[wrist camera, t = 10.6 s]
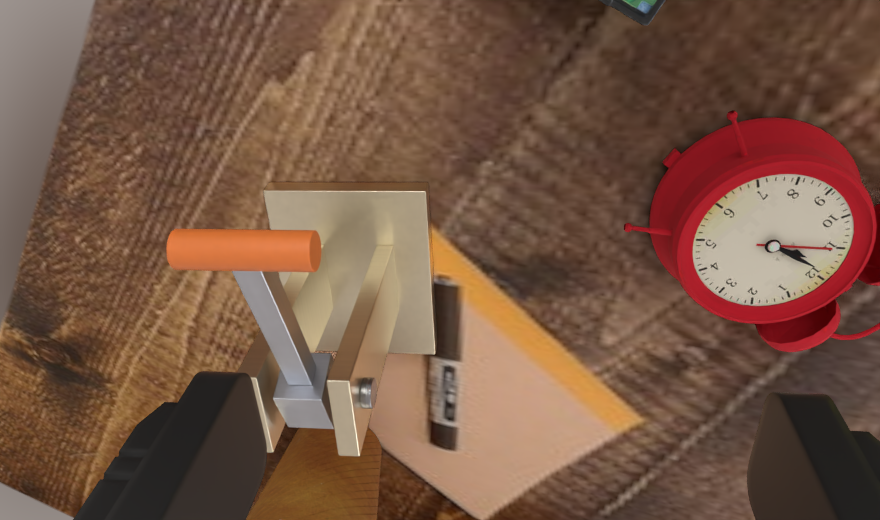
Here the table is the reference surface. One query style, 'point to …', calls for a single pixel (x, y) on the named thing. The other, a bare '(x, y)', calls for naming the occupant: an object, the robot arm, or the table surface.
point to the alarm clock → (767, 228)
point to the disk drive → (636, 8)
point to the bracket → (352, 293)
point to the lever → (268, 305)
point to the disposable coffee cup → (322, 481)
